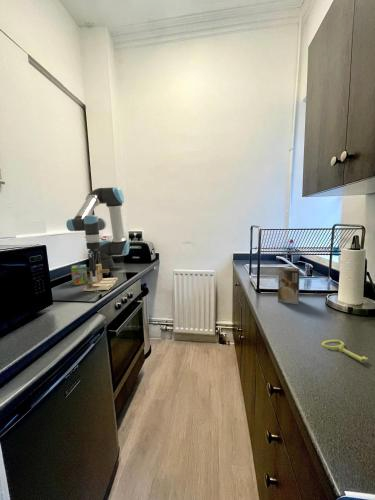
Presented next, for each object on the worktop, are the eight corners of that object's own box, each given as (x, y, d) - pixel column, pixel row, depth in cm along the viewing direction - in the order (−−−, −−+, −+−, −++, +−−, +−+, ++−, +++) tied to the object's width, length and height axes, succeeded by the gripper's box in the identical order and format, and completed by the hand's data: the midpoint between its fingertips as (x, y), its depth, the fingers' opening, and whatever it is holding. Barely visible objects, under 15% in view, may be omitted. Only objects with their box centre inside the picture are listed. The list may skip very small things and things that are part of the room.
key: (364, 367, 63) (364, 360, 63) (318, 346, 73) (318, 340, 73) (373, 357, 67) (374, 351, 67) (329, 339, 77) (329, 333, 77)
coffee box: (298, 300, 110) (300, 268, 107) (298, 304, 104) (300, 271, 102) (278, 297, 114) (279, 266, 111) (277, 301, 108) (278, 269, 106)
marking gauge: (94, 280, 138) (92, 264, 137) (111, 279, 139) (109, 263, 137) (91, 282, 132) (89, 266, 131) (108, 282, 133) (106, 265, 131)
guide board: (95, 280, 153) (94, 275, 152) (117, 279, 154) (117, 274, 153) (82, 292, 131) (82, 286, 130) (109, 290, 132) (108, 284, 131)
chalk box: (73, 282, 151) (70, 260, 149) (87, 280, 155) (85, 259, 153) (72, 286, 143) (69, 263, 141) (88, 283, 147) (85, 261, 144)
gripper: (92, 240, 141) (95, 275, 144) (80, 244, 122) (84, 285, 126) (104, 239, 141) (107, 275, 145) (94, 243, 123) (98, 284, 126)
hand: (96, 279), depth 135 cm, fingers closed on marking gauge, 6 cm apart
